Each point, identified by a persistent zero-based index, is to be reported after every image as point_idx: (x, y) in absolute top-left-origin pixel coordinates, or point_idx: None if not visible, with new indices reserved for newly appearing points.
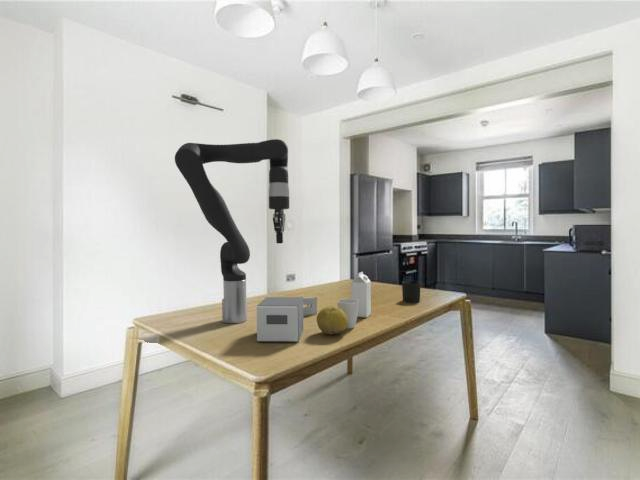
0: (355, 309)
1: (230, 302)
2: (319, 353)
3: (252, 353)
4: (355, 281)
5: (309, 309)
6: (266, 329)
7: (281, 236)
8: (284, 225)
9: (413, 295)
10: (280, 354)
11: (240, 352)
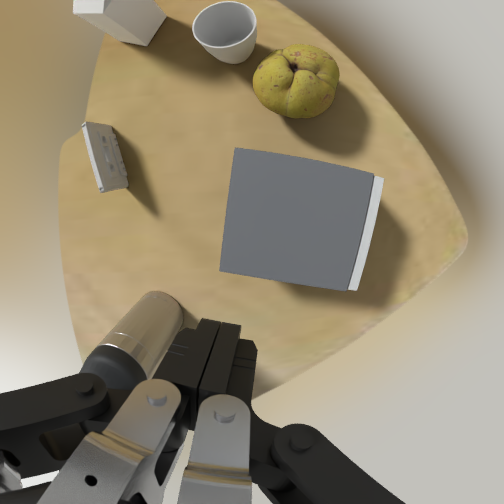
0: (250, 17)
1: (167, 347)
2: (412, 141)
3: (390, 262)
4: (104, 2)
5: (108, 142)
6: None
7: (232, 371)
8: (102, 447)
9: None
10: (406, 212)
11: (379, 283)
